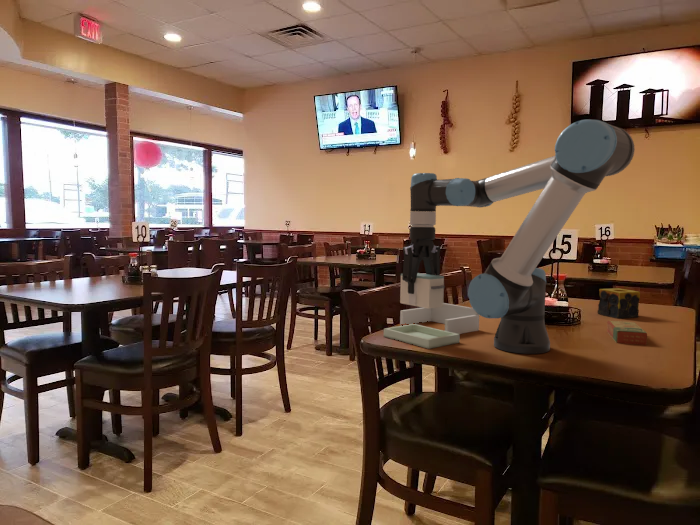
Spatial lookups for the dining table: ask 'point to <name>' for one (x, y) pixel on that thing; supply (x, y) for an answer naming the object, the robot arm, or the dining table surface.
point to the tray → (422, 336)
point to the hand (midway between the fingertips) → (420, 303)
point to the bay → (444, 317)
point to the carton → (626, 332)
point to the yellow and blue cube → (619, 303)
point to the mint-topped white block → (425, 291)
